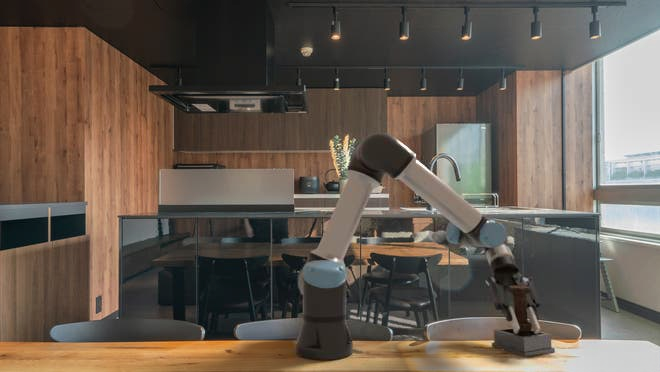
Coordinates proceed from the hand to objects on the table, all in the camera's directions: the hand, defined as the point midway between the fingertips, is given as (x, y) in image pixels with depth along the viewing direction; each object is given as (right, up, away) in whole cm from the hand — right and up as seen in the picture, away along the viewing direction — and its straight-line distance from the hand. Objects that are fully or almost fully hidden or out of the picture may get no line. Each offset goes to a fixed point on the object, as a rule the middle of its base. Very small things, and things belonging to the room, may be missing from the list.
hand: (527, 330), depth 109 cm
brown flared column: (0, -5, +3) cm, 6 cm away
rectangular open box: (0, -6, +3) cm, 7 cm away
